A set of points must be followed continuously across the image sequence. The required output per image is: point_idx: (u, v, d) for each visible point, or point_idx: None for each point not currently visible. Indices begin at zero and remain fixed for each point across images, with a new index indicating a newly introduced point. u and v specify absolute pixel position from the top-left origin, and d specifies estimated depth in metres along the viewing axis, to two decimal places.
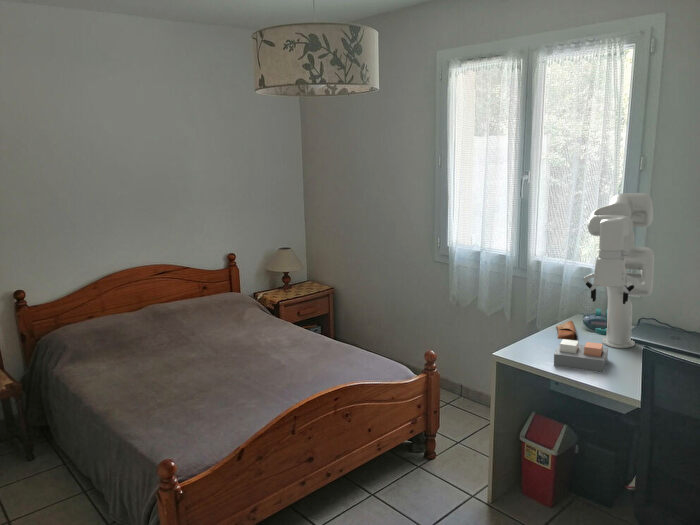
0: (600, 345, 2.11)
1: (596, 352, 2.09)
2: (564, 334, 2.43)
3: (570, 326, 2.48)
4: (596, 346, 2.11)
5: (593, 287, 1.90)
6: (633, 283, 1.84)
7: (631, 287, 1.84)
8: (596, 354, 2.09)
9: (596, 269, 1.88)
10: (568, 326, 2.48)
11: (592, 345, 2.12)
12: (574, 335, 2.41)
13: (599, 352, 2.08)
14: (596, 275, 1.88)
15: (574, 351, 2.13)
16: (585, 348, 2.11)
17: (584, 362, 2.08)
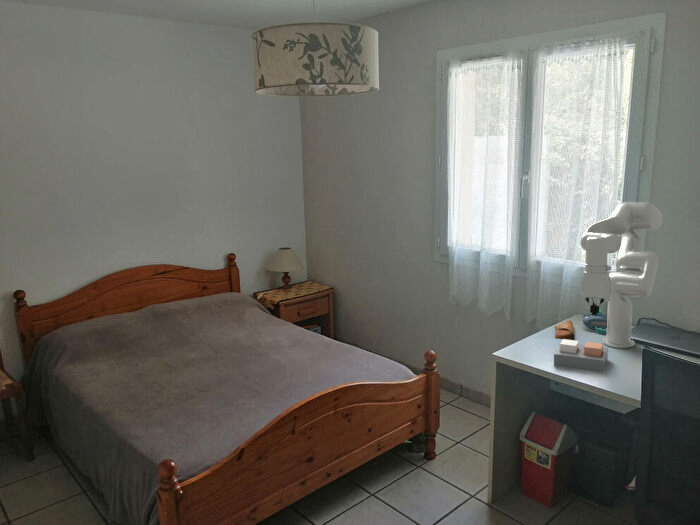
0: (600, 345, 2.11)
1: (596, 352, 2.09)
2: (561, 334, 2.44)
3: (568, 326, 2.48)
4: (596, 346, 2.11)
5: (590, 301, 2.08)
6: (606, 299, 2.05)
7: (601, 300, 2.06)
8: (596, 354, 2.09)
9: (583, 282, 2.07)
10: (566, 326, 2.48)
11: (592, 345, 2.12)
12: (571, 335, 2.41)
13: (599, 352, 2.08)
14: (583, 287, 2.07)
15: (574, 351, 2.13)
16: (585, 348, 2.11)
17: (584, 362, 2.08)
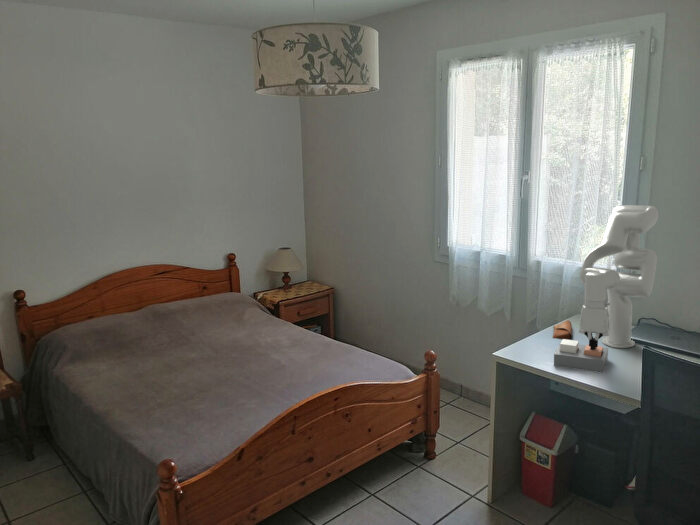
0: (599, 348, 2.12)
1: (596, 355, 2.09)
2: (559, 334, 2.44)
3: (566, 326, 2.48)
4: (596, 349, 2.11)
5: (589, 336, 2.10)
6: (604, 334, 2.08)
7: (600, 335, 2.09)
8: None
9: (582, 316, 2.10)
10: (564, 326, 2.49)
11: None
12: (569, 335, 2.41)
13: (599, 355, 2.09)
14: (582, 322, 2.10)
15: (574, 351, 2.13)
16: (585, 351, 2.11)
17: (584, 362, 2.08)
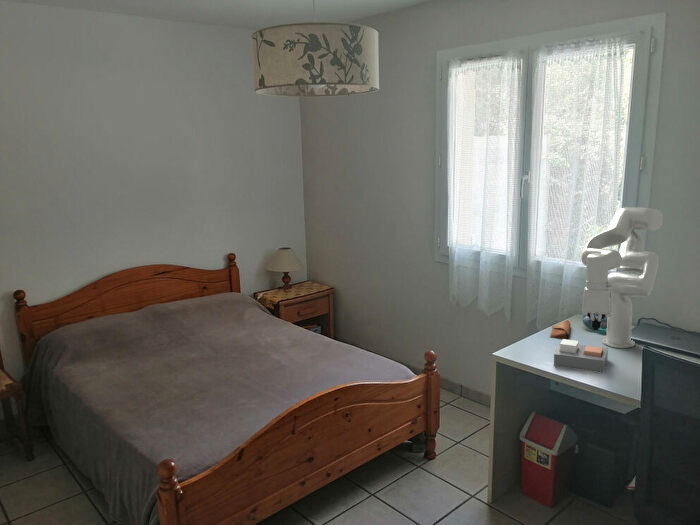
0: (599, 349, 2.12)
1: None
2: (556, 333, 2.45)
3: (564, 326, 2.49)
4: (596, 350, 2.11)
5: (592, 317, 2.11)
6: (607, 314, 2.09)
7: (603, 316, 2.10)
8: None
9: (584, 298, 2.10)
10: (562, 326, 2.49)
11: (592, 349, 2.12)
12: (566, 334, 2.42)
13: None
14: (584, 303, 2.11)
15: (574, 351, 2.13)
16: (585, 352, 2.11)
17: (584, 362, 2.08)
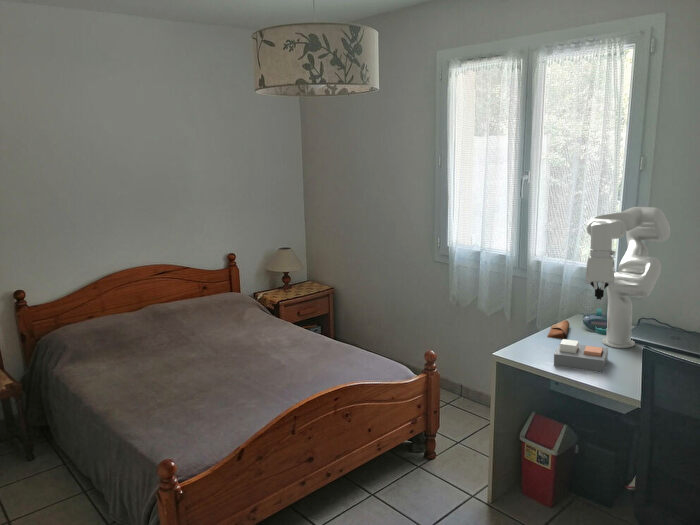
0: (599, 349, 2.12)
1: None
2: (554, 333, 2.45)
3: (562, 325, 2.49)
4: (596, 350, 2.11)
5: (595, 286, 2.13)
6: (610, 283, 2.11)
7: (606, 284, 2.12)
8: None
9: (588, 266, 2.13)
10: (560, 325, 2.49)
11: (592, 349, 2.12)
12: (563, 334, 2.42)
13: None
14: (588, 272, 2.13)
15: (574, 351, 2.13)
16: (585, 352, 2.11)
17: (584, 362, 2.08)
